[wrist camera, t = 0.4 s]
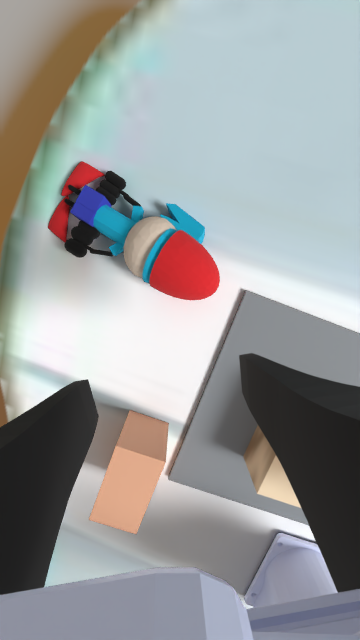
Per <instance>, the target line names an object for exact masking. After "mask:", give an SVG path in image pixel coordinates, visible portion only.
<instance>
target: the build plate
mask: <svg viewBox="0 0 360 640" xmlns="http://www.w3.org/2000/svg"><path fill="white" fill-rule="evenodd" d="M249 353H254V354H257V355H259V356H262V357H264V358H267V359H269V360H272V361H274V362H277V363H279V364H281V365H284V366H287V367H289V368H292V369H295V370H297V371H300V372H303V373H306V374H309V375H313V376H316V377H319V378H323V379H327V380H331V381H335V382H339V383H343V384H348V385H353V386H358V387H360V334H359V333H357V332H354V331H351V330H349V329H346V328H344V327H341V326H338V325H336V324H333V323H330V322H328V321H325V320H323V319H320V318H317V317H315V316H312V315H310V314H307V313H304V312H302V311H299V310H296V309H294V308H291V307H289V306H286V305H283V304H281V303H278V302H276V301H273V300H270V299H268V298H265V297H262V296H260V295H257V294H255V293H252V292H249V291H246V290H245V293H244V295H243V298H242V300H241V303H240V305H239V307H238V310H237V312H236V315H235V317H234V319H233V322H232V324H231V327H230V329H229V332H228V334H227V336H226V339H225V341H224V344H223V346H222V348H221V351H220V353H219V356H218V358H217V361H216V363H215V365H214V368H213V370H212V373H211V375H210V377H209V380H208V382H207V385H206V387H205V390H204V392H203V394H202V397H201V399H200V402H199V404H198V406H197V409H196V411H195V414H194V416H193V419H192V421H191V423H190V426H189V428H188V431H187V433H186V435H185V438H184V440H183V443H182V445H181V448H180V450H179V452H178V455H177V457H176V460H175V462H174V464H173V467H172V469H171V472H170V474H169V477H168V480H171V481H174V482H177V483H180V484H183V485H186V486H189V487H192V488H195V489H199V490H202V491H205V492H208V493H211V494H214V495H217V496H220V497H223V498H226V499H229V500H232V501H236V502H239V503H242V504H245V505H248V506H251V507H254V508H257V509H260V510H263V511H266V512H269V513H273V514H276V515H279V516H282V517H285V518H288V519H291V520H294V521H297V522H300V523H303V524H306V525H309V524H308V521H307V519H306V517H305V515H304V513H303V510H302V508H299V507H296V506H293V505H290V504H287V503H284V502H281V501H278V500H275V499H272V498H269V497H266V496H263V495H260V494H257V492H256V489H255V487H254V484H253V481H252V479H251V476H250V473H249V471H248V468H247V465H246V463H245V460H244V457H243V456H244V454H245V451H246V449H247V447H248V445H249V443H250V441H251V439H252V436H253V434H254V432H255V430H256V428H257V426H258V424H257V422H256V421H255V419H254V417H253V415H252V414H251V412H250V410H249V408H248V405H247V403H246V401H245V398H244V396H243V393H242V385H241V373H240V361H239V355H243V354H249Z"/></svg>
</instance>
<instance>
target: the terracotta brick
mask: <svg viewBox="0 0 360 640" xmlns="http://www.w3.org/2000/svg"><path fill="white" fill-rule="evenodd" d="M168 424H169V423H166V422H163V421H161V420H158V419H155V418H152V417H149V416H146V415H143V414H140V413H137V412H134V411H131V410H130V411H129V413H128V416H127V418H126V421H125V423H124V426H123V429H122V431H121V434H120V436H119V439H118V441H117V444H116V446H115V449H114V452H113V455H112V457H111V460H110V463H109V466H108V468H107V471H106V474H105V477H104V479H103V482H102V485H101V487H100V490H99V493H98V496H97V498H96V501H95V504H94V507H93V509H92V512H91V515H90V518H89V520H91V521H94V522H98V523H101V524H104V525H107V526H111V527H114V528H117V529H120V530H124V531H127V532H130V533H134V534H137V531H138V529H139V526H140V524H141V521H142V519H143V516H144V514H145V511H146V509H147V507H148V504H149V502H150V499H151V497H152V494H153V492H154V489H155V487H156V484H157V482H158V480H159V477H160V475H161V472H162V470H163V467H164V465H165V462H166V450H167V437H168Z"/></svg>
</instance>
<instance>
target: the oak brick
mask: <svg viewBox="0 0 360 640" xmlns="http://www.w3.org/2000/svg"><path fill="white" fill-rule="evenodd" d="M243 457H244V460H245V463H246V465H247V468H248V471H249V473H250V476H251V479H252V481H253V484H254V487H255V489H256V492H257V494H260V495H263V496H266V497H269V498H272V499H275V500H278V501H281V502H284V503H287V504H290V505H293V506H296V507H299V508H301V506H300V504H299V502H298V499H297V497H296V495H295V493H294V491H293V488H292V486H291V484H290V482H289V480H288V478H287V476H286V474H285V472H284V469H283V467H282V465H281V463H280V461H279V460H278V458H277V456H276V454H275V452H274V451H273V449H272V447H271V446H270V444H269V442H268V441H267V439H266V437H265V436H264V434H263V432H262V431H261V429H260V427H259V426H257V428H256V430H255V432H254V434H253V436H252V439H251V441H250V443H249V445H248V447H247V449H246V451H245V454H244V456H243Z"/></svg>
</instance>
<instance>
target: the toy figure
mask: <svg viewBox="0 0 360 640" xmlns="http://www.w3.org/2000/svg"><path fill="white" fill-rule="evenodd" d="M101 176H105V178H106V180H102V181H101V182H100V187H98V188H97V189H96V191H95V190H93V189H92V188H90V187H88V186H87V185H86V184H88V183H90V182H92V181H93V180H95V179H97V178H98V177H101ZM83 186H84V188H83V189H82V191H80V190H79V189H80V188H82V187H83ZM125 186H126V182H125V180H124V179H123V178H121V177H120V176H118V175H117V174H115V173H114V172H112V171H108V172H106V174H105V175H104V174H103V173H101V172H100V171H98V170H97V169H95V168H94V167H92V166H90V165H89V164H87V163H85V162H80V163H79V164H78V165H77V166H76V168H75V169H74V171H73V172H72V173H71V175H70V176H69V178H68V179H67V181H66V183H65V185H64V188H63V190H62V194H61V195H62V196H66V197H65V198H64V199H63V200H62V201H61V202H60V204H59V205H58V206H57V208H56V210H55V212H54V214H53V216H52V218H51V219H50V222H49V225H48V228H49V229H50V230H51V231H52V232H53V233H54V234H55V235H56V236H57V237H59V238H60V239H61V240H62V241H64V242H65V248H66V250H67V251H69V252H70V253H72V254H73V255H75V256H76V257H84V256H85V255H86V253H87V249H88V250H90V253H93V254H100V255H106V256H113V255H114V256H117V255H118V254H120V253H122V252H123V251H124V259H125V263H126V264H127V266H128V268H129V269H130V271H131V272H132V273H133V274H134V275H136V276H138V277H140V278H143V280H144V282H146V283H150V286H151V287H153V288H155V289H157V290H158V291H160V292H163V293H165V294H167V295H170V296H173V297H176V298H180V299H185V300H201V299H205V298H207V297H209V296H211V295H212V294H213V293H215V292H216V290H217V288H218V286H219V282H220V277H219V271H218V268H217V266H216V264H215V262H214V260H213V258H212V257H211V255H210V254H209V253H208V252H207V250H206V249H205V248H204V247H203V246H202V245H201V243H202V242H203V239H204V235H205V227H204V226H202V225H201V224H200V223H199V222H197V221H196V220H195V219H194V218H192V217H191V216H190V215H188V214H187V213H186V212H185V211H183V210H182V209H181V208H180V207H178V206H177V205H176V204H167V203H166V205H167V208H168V211H169V213H170V215H171V216H172V218H173V219H171V218H169V217H167V216H164V215H161V214H160V216H161V217H158V216H156V217H147V218H144V219H142V218H143V213H144V210H143V208H142V207H141V205H140V204H139V203H137V202H136V201H135V200H133V199H132V198H131V197H130V196H129V195H128V194H126V193H125V192H123V191H122V190H123V189H124V188H125ZM73 192H74V193H76V194H78V195H79V196H78V198H77V200H76V202H75V203H74V202H72V201H70V200H69V197H68V195H70V194H72V193H73ZM120 194H122V195H123V197H124V199H125V200H126V201H128V202H129V203H130V204H132V205H133V210H132V216H131V219H129V218H128V217H126V216H124V215H123V214H121V213H119V212H118V211H116V210H114V209H113V208H111V206H112V205H114V204H115V203H116V198H118V197H119V195H120ZM70 206H71V207H72V209H71V211H70V212H71V213H72V214H73V215H74V216H75V217H77V218H78V219H79V220H81V221H80V222H79V224H78V226H76V227H74V228H73V229H72V230H71V235H72V237H73V238H70V239H68V240H67V239H66V236H67V226H68V217H69V208H70ZM100 233H102V234H104V235H105V236H107V237H108V238H110V239H112V240H113V241H115V242H116V243H115V244H113V245H112V246H110V247H109V249H110V250H111V252H108V251H102V250H95V249H92V248H91V247H89V246H88V245H90V244H91V243H92V242H93V239H96V238H98V237H99V235H100Z"/></svg>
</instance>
